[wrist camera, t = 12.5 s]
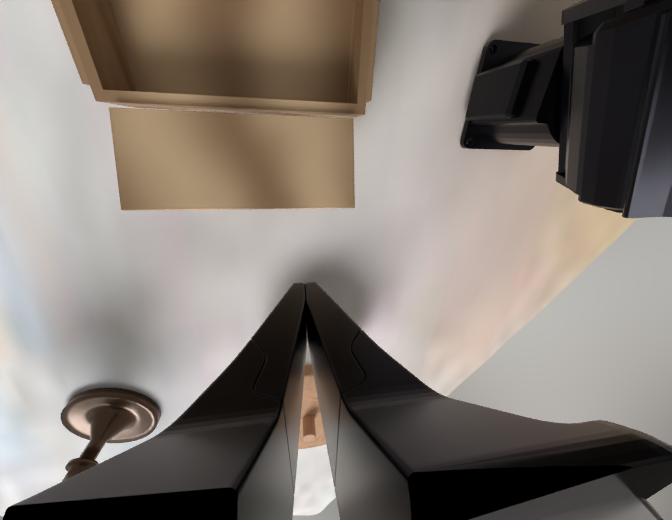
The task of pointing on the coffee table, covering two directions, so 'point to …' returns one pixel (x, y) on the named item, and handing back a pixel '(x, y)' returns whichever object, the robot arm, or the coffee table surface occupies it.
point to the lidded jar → (310, 411)
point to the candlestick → (107, 421)
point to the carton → (226, 53)
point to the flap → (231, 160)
